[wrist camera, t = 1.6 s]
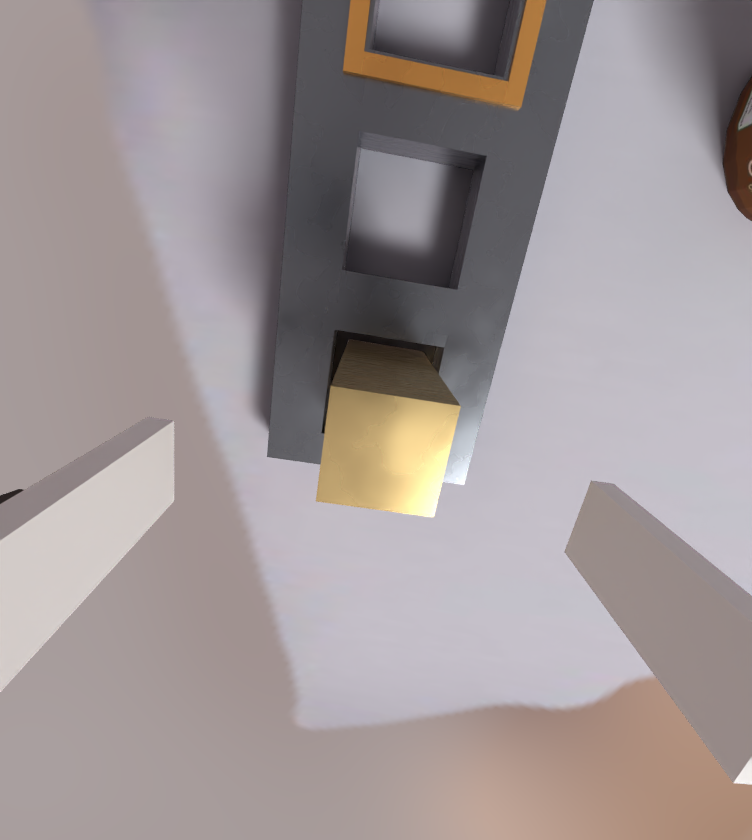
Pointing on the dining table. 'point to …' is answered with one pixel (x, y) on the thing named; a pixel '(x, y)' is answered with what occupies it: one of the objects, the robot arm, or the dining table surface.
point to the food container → (740, 153)
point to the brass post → (386, 431)
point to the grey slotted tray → (426, 140)
